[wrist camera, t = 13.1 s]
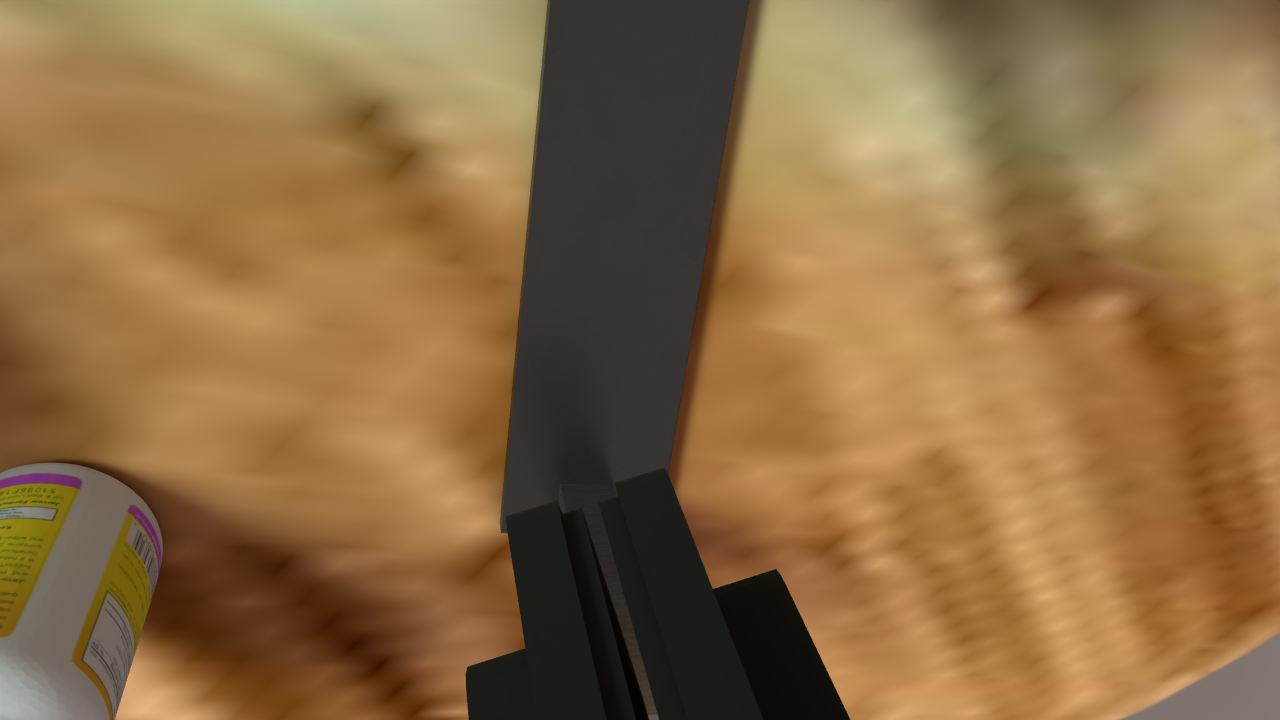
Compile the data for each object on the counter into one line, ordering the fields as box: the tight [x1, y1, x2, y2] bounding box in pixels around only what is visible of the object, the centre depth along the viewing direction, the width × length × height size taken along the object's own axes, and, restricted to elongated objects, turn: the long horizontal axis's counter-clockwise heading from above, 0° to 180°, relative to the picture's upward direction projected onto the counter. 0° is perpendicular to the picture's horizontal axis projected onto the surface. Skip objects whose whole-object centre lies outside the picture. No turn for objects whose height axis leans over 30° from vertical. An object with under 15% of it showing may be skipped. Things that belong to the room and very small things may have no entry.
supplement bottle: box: [0, 462, 163, 720], centre depth 32 cm, size 7×7×13 cm
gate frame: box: [500, 0, 749, 720], centre depth 30 cm, size 28×6×12 cm, turn 172°
